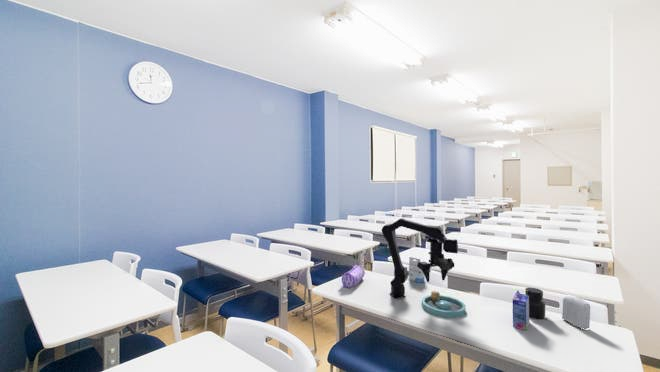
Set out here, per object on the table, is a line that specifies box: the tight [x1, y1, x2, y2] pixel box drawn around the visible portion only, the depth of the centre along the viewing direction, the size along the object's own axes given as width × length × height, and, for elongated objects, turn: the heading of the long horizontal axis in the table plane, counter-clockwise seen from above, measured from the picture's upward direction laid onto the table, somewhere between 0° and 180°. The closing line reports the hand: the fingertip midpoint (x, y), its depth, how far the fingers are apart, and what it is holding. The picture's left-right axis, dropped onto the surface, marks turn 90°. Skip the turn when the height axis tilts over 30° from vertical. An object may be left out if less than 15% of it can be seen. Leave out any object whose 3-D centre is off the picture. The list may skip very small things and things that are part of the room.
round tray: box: [421, 294, 466, 318], centre depth 148 cm, size 20×20×2 cm
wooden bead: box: [430, 290, 441, 303], centre depth 154 cm, size 4×4×4 cm
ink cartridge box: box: [512, 289, 530, 331], centre depth 132 cm, size 10×6×14 cm, turn 141°
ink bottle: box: [524, 287, 546, 320], centre depth 141 cm, size 10×9×12 cm
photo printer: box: [561, 294, 591, 330], centre depth 132 cm, size 10×4×12 cm, turn 11°
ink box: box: [408, 256, 425, 284], centre depth 187 cm, size 8×5×15 cm, turn 39°
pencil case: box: [341, 263, 366, 289], centre depth 183 cm, size 22×9×10 cm, turn 159°
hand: (435, 281), depth 154 cm, fingers open, 9 cm apart
